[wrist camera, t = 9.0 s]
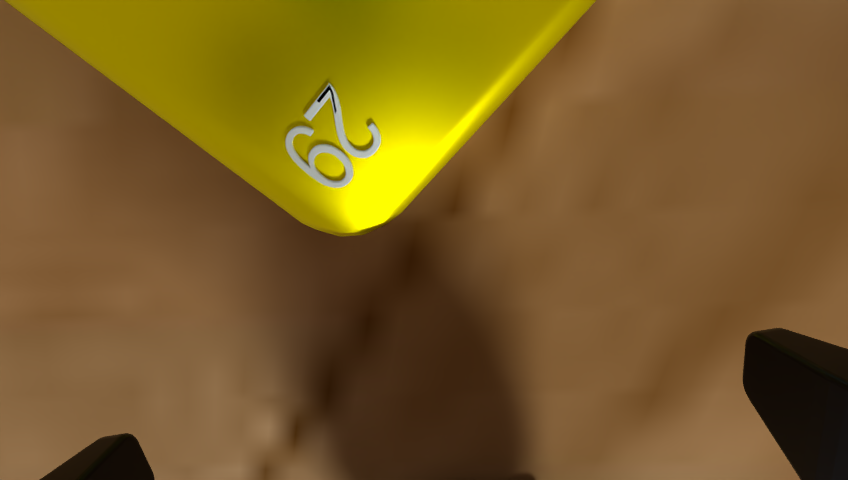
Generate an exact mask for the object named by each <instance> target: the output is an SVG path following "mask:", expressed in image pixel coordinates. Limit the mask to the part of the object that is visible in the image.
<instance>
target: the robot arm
mask: <svg viewBox="0 0 848 480" xmlns="http://www.w3.org/2000/svg"><path fill="white" fill-rule="evenodd" d="M743 386H744V389H745V392H746V394H747V396H748V398H749V400H750V401H751V403H752V404H753V406H754V407H755V409H756V411H757V412H758V414H759V415H760V417H761V418H762V420H763V421H764V423H765V425H766V426H767V428H768V429H769V431H770V432H771V434H772V436H773V437H774V439H775V440H776V442H777V443H778V445H779V446H780V448H781V450H782V451H783V453H784V454H785V456H786V457H787V459H788V460H789V462H790V464H791V465H792V467H793V468H794V470H795V471H796V473H797V474H798V476H799V478H800V479H801V480H848V349H846V348H843V347H839V346H836V345H833V344H830V343H827V342H824V341H821V340H817V339H814V338H811V337H808V336H805V335H802V334H799V333H795V332H792V331H789V330H786V329H782V328H774V329H767V330H761V331H755V332H752V333H751V334H749V335H748V337H747V339H746V344H745V356H744V368H743ZM40 480H154V474H153V472H152V470H151V467H150V465H149V463H148V461H147V459H146V457H145V455H144V453H143V451H142V449H141V446H140V444H139V442H138V440H137V439H136V437H134V436H133V435H132V434H128V433H125V434H118V435H112V436H106V437H102V438H100V439H98V440H96V441H95V442H94V443H92V444H91V445H89V446H88V447H86V448H85V449H83V450H82V451H81V452H79V453H78V454H76V455H75V456H73V457H72V458H70V459H69V460H67V461H66V462H65V463H63V464H62V465H60V466H59V467H57V468H56V469H54V470H53V471H52V472H50V473H49V474H47V475H46V476H44V477H43V478H41V479H40Z"/></svg>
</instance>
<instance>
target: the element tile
mask: <svg viewBox="0 0 848 480" xmlns="http://www.w3.org/2000/svg"><path fill="white" fill-rule="evenodd" d="M4 1H6V2H7V3H8V4H10V5H11V6H12V7H14V8H15V9H16V10H18V11H19V12H20V13H22V14H23V15H24V16H26V17H27V18H28V19H30V20H31V21H32V22H34V23H35V24H36V25H38V26H39V27H40V28H42V29H43V30H44V31H46V32H47V33H48V34H50V35H51V36H52V37H54V38H55V39H56V40H58V41H59V42H60V43H62V44H63V45H64V46H66V47H67V48H69V49H70V50H71V51H73V52H74V53H75V54H77V55H78V56H79V57H81V58H82V59H83V60H85V61H86V62H87V63H89V64H90V65H91V66H93V67H94V68H95V69H97V70H98V71H99V72H101V73H102V74H103V75H105V76H106V77H107V78H109V79H110V80H111V81H113V82H114V83H115V84H117V85H118V86H119V87H121V88H122V89H123V90H125V91H126V92H127V93H129V94H130V95H131V96H133V97H134V98H135V99H137V100H138V101H139V102H141V103H142V104H143V105H145V106H146V107H147V108H149V109H150V110H151V111H153V112H154V113H155V114H157V115H158V116H159V117H161V118H162V119H163V120H165V121H166V122H167V123H169V124H170V125H171V126H173V127H174V128H175V129H177V130H178V131H179V132H181V133H182V134H183V135H185V136H186V137H187V138H189V139H190V140H191V141H193V142H194V143H195V144H197V145H198V146H199V147H201V148H202V149H204V150H205V151H206V152H208V153H209V154H210V155H212V156H213V157H214V158H216V159H217V160H218V161H220V162H221V163H222V164H224V165H225V166H226V167H228V168H229V169H230V170H232V171H233V172H234V173H236V174H237V175H238V176H240V177H241V178H242V179H244V180H245V181H246V182H248V183H249V184H250V185H252V186H253V187H254V188H256V189H257V190H258V191H260V192H261V193H262V194H264V195H265V196H266V197H268V198H269V199H270V200H272V201H273V202H274V203H276V204H277V205H278V206H280V207H281V208H282V209H284V210H285V211H286V212H288V213H289V214H290V215H292V216H293V217H294V218H296V219H297V220H298V221H300V222H301V223H303V224H305V225H307V226H309V227H311V228H313V229H316V230H319V231H323V232H326V233H330V234H333V235H337V236H354V235H364V234H367V233H369V232H371V231H373V230H375V229H377V228H380V227H382V226H384V225H386V224H387V223H389V222H390V221H391V220H393V219H394V218H395V217H396V216H398V215H399V214H400V213H401V212H403V211H404V209H405V208H406V207H407V206H408V205H409V204H410V203H411V202H412V201H413V200H414V199H415V198H416V196H417V195H418V194H419V193H420V192H421V191H422V190H423V189H424V188H425V187H426V186H427V184H428V183H429V182H430V181H431V180H432V179H433V178H434V177H435V176H436V175H437V174H438V172H439V171H440V170H441V169H442V168H443V167H444V166H445V165H446V164H447V163H448V162H449V160H450V159H451V158H452V157H453V156H454V155H455V154H456V153H457V152H458V151H459V150H460V148H461V147H462V146H463V145H464V144H465V143H466V142H467V141H468V140H469V139H470V138H471V136H472V135H473V134H474V133H475V132H476V131H477V130H478V129H479V128H480V127H481V126H482V124H483V123H484V122H485V121H486V120H487V119H488V118H489V117H490V116H491V115H492V114H493V112H494V111H495V110H496V109H497V108H498V107H499V106H500V105H501V104H502V103H503V102H504V100H505V99H506V98H507V97H508V96H509V95H510V94H511V93H512V92H513V91H514V90H515V88H516V87H517V86H518V85H519V84H520V83H521V82H522V81H523V80H524V79H525V78H526V76H527V75H528V74H529V73H530V72H531V71H532V70H533V69H534V68H535V67H536V66H537V64H538V63H539V62H540V61H541V60H542V59H543V58H544V57H545V56H546V55H547V54H548V52H549V51H550V50H551V49H552V48H553V47H554V46H555V45H556V44H557V43H558V42H559V40H560V39H561V38H562V37H563V36H564V35H565V34H566V33H567V32H568V31H569V30H570V28H571V27H572V26H573V25H574V24H575V23H576V22H577V21H578V20H579V19H580V18H581V16H582V15H583V14H584V13H585V12H586V11H587V10H588V9H589V8H590V7H591V6H592V4H593V3H594V2H595V1H596V0H4Z"/></svg>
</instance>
